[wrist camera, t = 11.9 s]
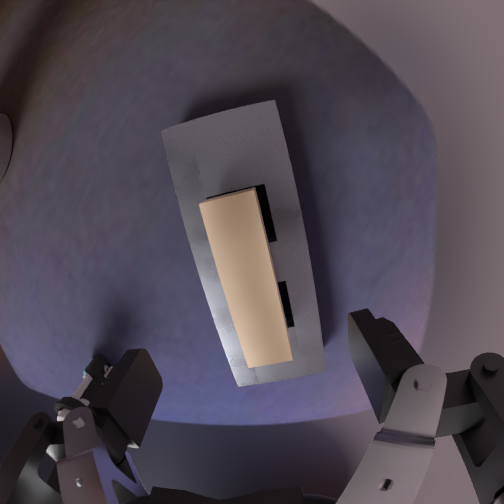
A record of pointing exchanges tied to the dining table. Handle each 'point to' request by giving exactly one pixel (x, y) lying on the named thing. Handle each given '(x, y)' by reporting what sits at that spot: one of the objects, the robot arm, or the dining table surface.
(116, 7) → the dining table surface
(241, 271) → the wooden peg block
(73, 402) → the push button
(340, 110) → the dining table surface
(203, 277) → the grey block with holes
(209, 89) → the dining table surface
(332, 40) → the dining table surface
